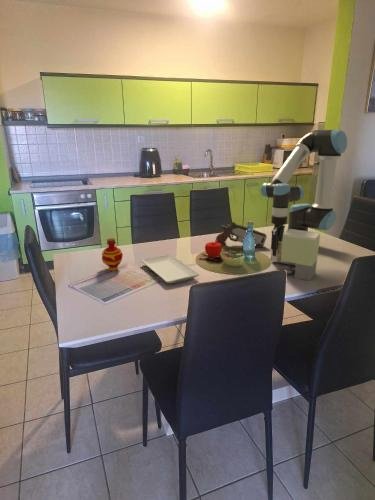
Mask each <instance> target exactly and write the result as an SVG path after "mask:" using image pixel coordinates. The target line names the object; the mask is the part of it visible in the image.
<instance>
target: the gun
mask: <svg viewBox="0 0 375 500" xmlns="http://www.w3.org/2000/svg"><path fill="white" fill-rule="evenodd" d="M220 228H221V229H223V231H222V232H220V233H219V234H217V235H216V238H215V241H214V242H217V243H220V244H221V245H222V246H226V243H227V240H228V239H229V240H230V241H232V242H236V243H237V242H239V243H240V244H241V243H242V244H244V243H243V239H244V236H245V234H246V230H247V228H248V227H246V226H243V225H241V224H237V223H236V222H235V221H232V222H231V223H230V224H229V223H228V224H227V226H226V225H223V224H222V225H221V226H220ZM252 230H253V234H254V237H255V244H256V246H255V247H254V248H257V249H260V248H262V247H264V246H265V244H266V240H267V238H268V236H267V234H266V233H264V232H260V231H259V230H255V229H252ZM234 237H236V238H234Z"/></svg>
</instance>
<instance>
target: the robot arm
mask: <svg viewBox="0 0 375 500" xmlns="http://www.w3.org/2000/svg"><path fill="white" fill-rule="evenodd" d="M347 147H348V137H347V135H346V132H344V130H341V129H314V130H312V131H310V132H308V133H306V134H304V136H302V137H301V138H299V140H298V141H297V142H296V143H295V145H294V147H293V151H292V152H291V153H290V154H289V156H288V157H287V158H286V160H285V161H284V163H283V164H282V165H281V167H280V168H279V169H278V171H277V172H276V173H275V175H274V176H273V177H272V179H271V180H270V181H269V182H264V183H263V184H262V185H261V187H260V194H261V196H262V197H264V198H269V199H272V208H271V220H270V221H271V224H273V225H274V226H273V228H272V230H271V240H270V242H271V243H270V244H271V245H270V250H271V251H272V260H271V259H270V261H271V262H275V263H278V262H277V257H278V242H279V241H282V239H283V233H285V228H286V226H285V225H287V223H288V225H287V229H286V231H287V230H289V229H295V230H302V231H309V228H310V229H314V230H319V231H326V232H327V231H329V230H330V229H332V228H333V226H334V224H335V223H336V220H337V212H336V211H335V210H334V206H333V204H332V199H333V198H332V197H333V191H334V184H335V177H336V169H337V163H338V159H340V158H341V155H342V154H343V153H345V152H346V150H347ZM312 153H317V157H318V158H319V164H318V174H317V180H316V189H315V196H314V197H315V198H314V202H313V203H312V204H310V203H296V204H292V205H291V206H290V207H289V203H291V202H292V203H293V202H298V201H301V200H302V199H303V198H304V196H305V188H304V187H303V186H301V185H297V184H296V185H290V184H289V183H288V182H289V181H290V179H291V178H292V176H293V175H294V173H295V172H296V171H297V169H298V168H299V167H300V165H301V164H302V163H303V161H304V160H305V158H307V157H309V156H310V155H311V154H312Z"/></svg>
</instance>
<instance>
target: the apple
mask: <svg viewBox="0 0 375 500" xmlns="http://www.w3.org/2000/svg"><path fill="white" fill-rule="evenodd" d="M222 248H223V245H221V244H220V243H217V242H215V241H211V242H206V244H205V246H204V250H205V253H206V255H207V256H208V257H209V258H213V259H216V258H219V257H220V254H221V253H222ZM210 256H211V257H210ZM217 256H218V257H217Z"/></svg>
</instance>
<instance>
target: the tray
mask: <svg viewBox="0 0 375 500" xmlns="http://www.w3.org/2000/svg"><path fill="white" fill-rule="evenodd" d="M140 262H142V263H143V265H145V266H146V267H147V268H149V269H150V270H151V271H152V272H153V273H155V274H156V275H157V276H158V277H159V278H161V280H163V281H164V282H165V283H166V284H170V285H171V284H175V283H181V282H186V281H189V280H191V279H194V278H196V277H199V275H200V273H199V272H198V271H196V270H195V269H194V268H192V267H191V266H189V265H187V264H186V263H184V262H183V261H181V260H180V259H178V258H177V257H175V256H174V255H173V254H170V253H169V254H163V255H158V256H153V257H148V258H143V259H140Z"/></svg>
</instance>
